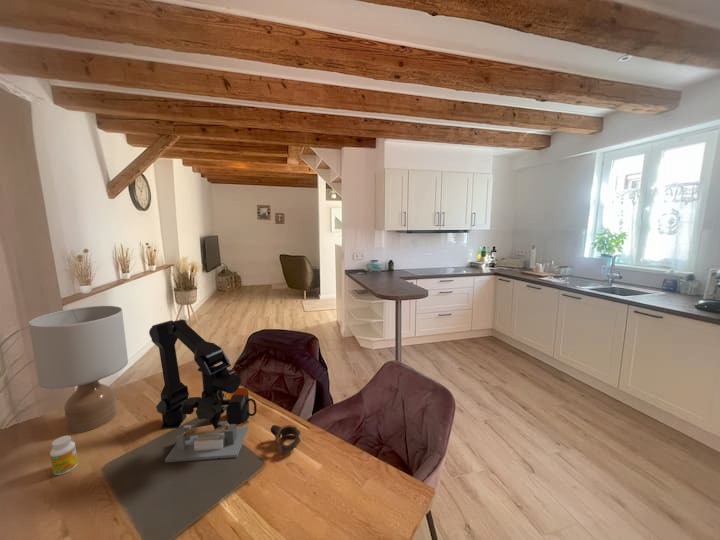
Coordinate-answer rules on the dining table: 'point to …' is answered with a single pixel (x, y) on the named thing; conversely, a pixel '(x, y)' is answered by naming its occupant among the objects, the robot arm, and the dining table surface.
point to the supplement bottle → (63, 455)
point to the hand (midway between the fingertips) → (216, 426)
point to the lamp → (81, 360)
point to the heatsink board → (208, 445)
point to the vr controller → (284, 431)
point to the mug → (243, 414)
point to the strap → (205, 429)
